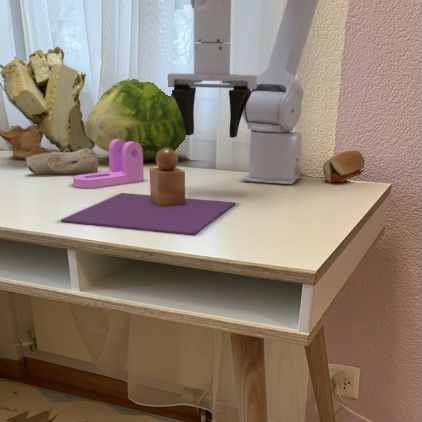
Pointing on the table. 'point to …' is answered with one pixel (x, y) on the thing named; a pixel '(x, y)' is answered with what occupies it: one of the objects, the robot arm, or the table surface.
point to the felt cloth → (151, 214)
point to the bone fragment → (63, 162)
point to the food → (343, 166)
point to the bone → (24, 141)
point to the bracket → (116, 167)
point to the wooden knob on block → (167, 180)
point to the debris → (49, 97)
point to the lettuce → (137, 118)
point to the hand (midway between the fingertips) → (211, 135)
